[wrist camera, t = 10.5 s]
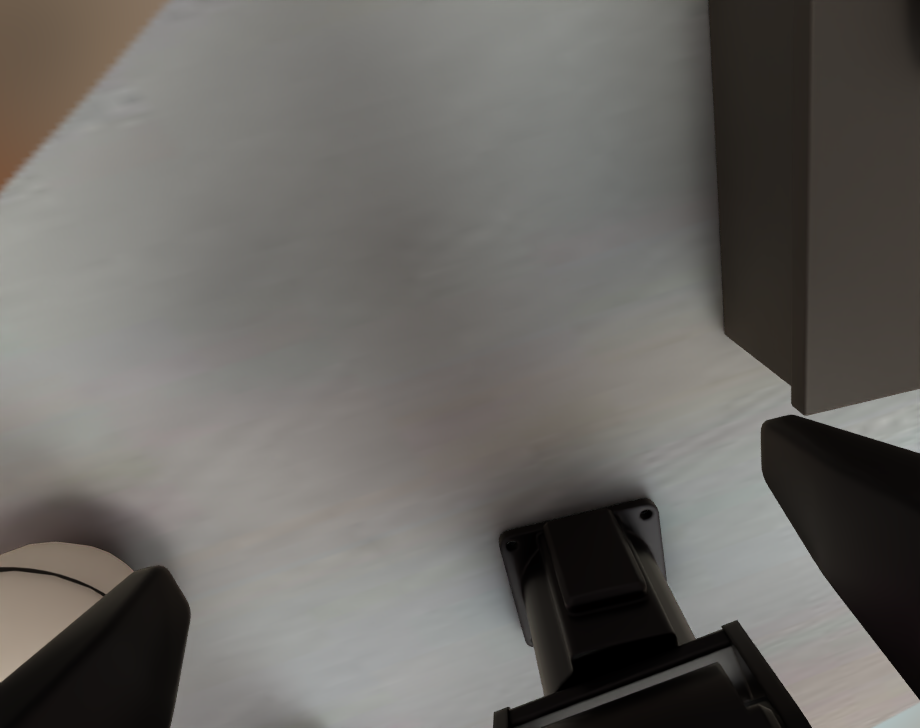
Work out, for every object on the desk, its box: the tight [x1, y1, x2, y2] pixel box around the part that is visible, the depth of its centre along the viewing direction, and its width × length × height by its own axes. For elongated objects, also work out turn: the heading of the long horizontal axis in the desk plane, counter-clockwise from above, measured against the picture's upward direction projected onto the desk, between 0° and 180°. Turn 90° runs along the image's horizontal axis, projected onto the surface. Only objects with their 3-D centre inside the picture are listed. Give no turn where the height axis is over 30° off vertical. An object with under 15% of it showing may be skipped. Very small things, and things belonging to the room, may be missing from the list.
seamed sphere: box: [0, 542, 134, 683], centre depth 20 cm, size 10×7×7 cm
